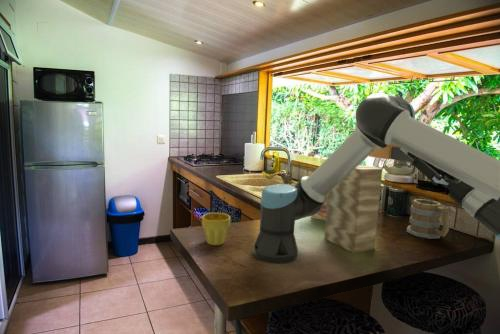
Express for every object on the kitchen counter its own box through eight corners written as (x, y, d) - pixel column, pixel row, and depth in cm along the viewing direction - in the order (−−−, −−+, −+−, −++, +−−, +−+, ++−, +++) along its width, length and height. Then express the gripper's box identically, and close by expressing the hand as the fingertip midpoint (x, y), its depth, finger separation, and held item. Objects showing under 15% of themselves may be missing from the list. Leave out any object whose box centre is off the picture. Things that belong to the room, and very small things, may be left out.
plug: (436, 163, 98) (438, 143, 97) (423, 164, 95) (425, 143, 94) (381, 156, 115) (382, 138, 115) (368, 156, 113) (370, 138, 112)
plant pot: (217, 249, 115) (218, 222, 113) (195, 242, 120) (196, 216, 119) (235, 241, 123) (236, 216, 122) (213, 235, 129) (214, 210, 128)
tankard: (400, 229, 147) (404, 196, 145) (424, 228, 150) (428, 195, 148) (436, 246, 127) (440, 208, 125) (462, 244, 131) (467, 207, 129)
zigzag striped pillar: (374, 249, 122) (382, 168, 117) (354, 253, 117) (362, 169, 113) (343, 235, 136) (349, 162, 131) (324, 238, 131) (330, 163, 127)
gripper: (443, 209, 84) (383, 155, 101) (480, 204, 93) (419, 155, 109) (462, 187, 80) (395, 134, 96) (499, 183, 88) (432, 135, 104)
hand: (408, 145), depth 102 cm, fingers closed on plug, 4 cm apart
